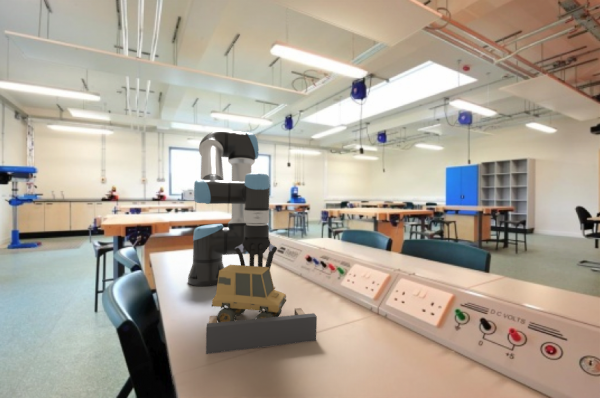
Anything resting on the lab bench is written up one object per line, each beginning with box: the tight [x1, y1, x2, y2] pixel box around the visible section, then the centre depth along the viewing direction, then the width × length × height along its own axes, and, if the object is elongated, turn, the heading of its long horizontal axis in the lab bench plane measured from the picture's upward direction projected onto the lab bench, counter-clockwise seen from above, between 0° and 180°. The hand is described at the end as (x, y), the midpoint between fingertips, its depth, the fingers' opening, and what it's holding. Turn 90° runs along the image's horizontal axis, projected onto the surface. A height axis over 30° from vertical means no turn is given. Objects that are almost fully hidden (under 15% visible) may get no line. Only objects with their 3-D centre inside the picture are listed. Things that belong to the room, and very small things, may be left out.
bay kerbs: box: [208, 307, 306, 323], centre depth 74 cm, size 12×26×2 cm, turn 105°
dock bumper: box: [205, 312, 318, 355], centre depth 67 cm, size 2×26×6 cm, turn 105°
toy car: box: [211, 264, 287, 322], centre depth 79 cm, size 10×19×15 cm, turn 80°
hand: (255, 300), depth 86 cm, fingers closed
